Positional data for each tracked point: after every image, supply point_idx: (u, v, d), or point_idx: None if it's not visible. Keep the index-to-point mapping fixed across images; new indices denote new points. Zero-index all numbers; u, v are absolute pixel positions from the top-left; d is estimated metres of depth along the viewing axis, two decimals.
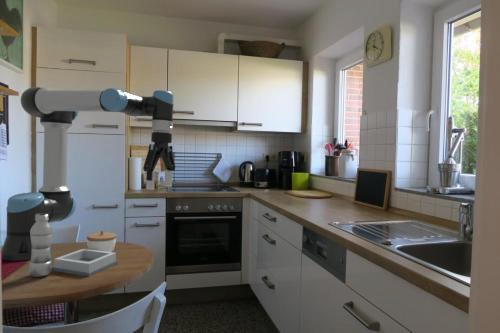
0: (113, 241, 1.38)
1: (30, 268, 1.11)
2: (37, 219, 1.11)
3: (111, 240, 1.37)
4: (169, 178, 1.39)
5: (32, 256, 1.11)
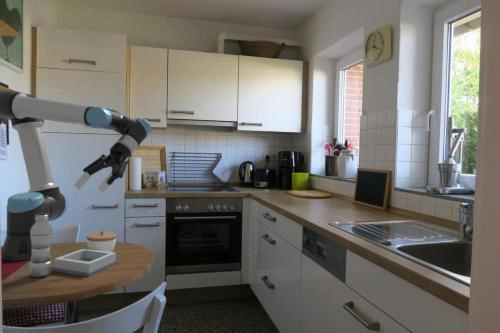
0: (113, 241, 1.38)
1: (30, 268, 1.11)
2: (37, 219, 1.11)
3: (111, 240, 1.37)
4: (84, 181, 1.32)
5: (32, 256, 1.11)
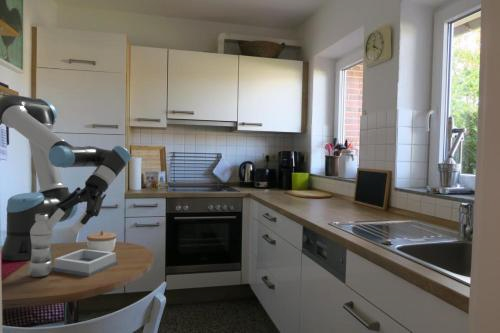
0: (113, 241, 1.38)
1: (30, 268, 1.11)
2: (37, 219, 1.11)
3: (111, 240, 1.37)
4: (57, 218, 1.23)
5: (32, 256, 1.11)
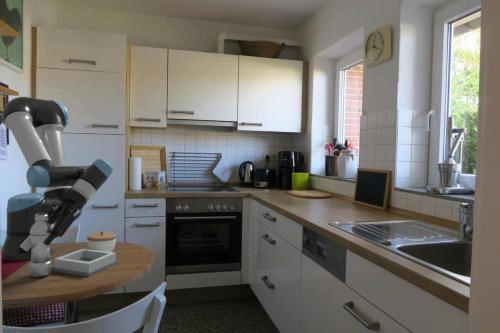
0: (113, 241, 1.38)
1: (30, 268, 1.11)
2: (37, 219, 1.11)
3: (111, 240, 1.37)
4: None
5: (32, 256, 1.11)
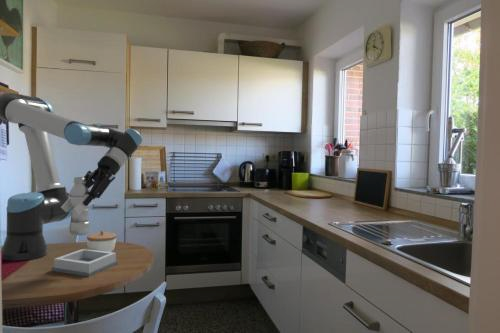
0: (113, 241, 1.38)
1: (71, 227, 1.19)
2: (76, 181, 1.19)
3: (111, 240, 1.37)
4: None
5: (72, 216, 1.19)
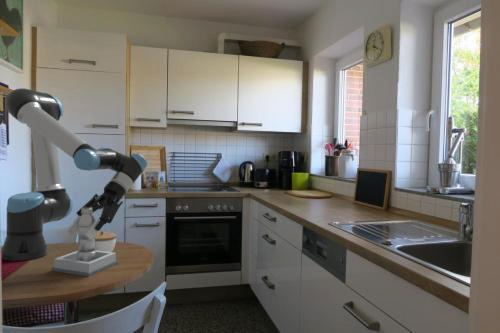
0: (113, 241, 1.38)
1: (78, 257, 1.21)
2: (83, 212, 1.21)
3: (111, 240, 1.37)
4: None
5: (79, 246, 1.22)
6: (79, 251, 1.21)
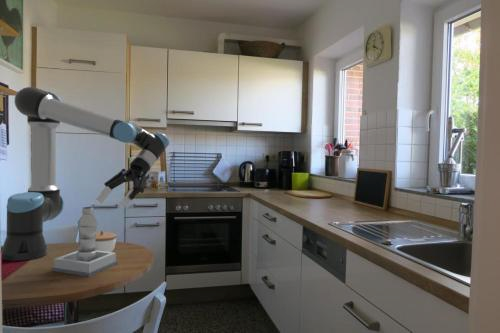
0: (113, 241, 1.38)
1: (78, 257, 1.21)
2: (84, 212, 1.22)
3: (111, 240, 1.37)
4: (106, 195, 1.37)
5: (80, 246, 1.22)
6: (79, 251, 1.22)
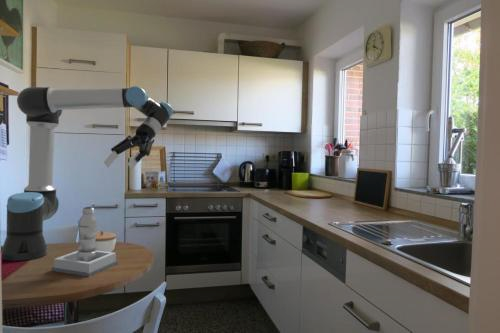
0: (113, 241, 1.38)
1: (78, 257, 1.21)
2: (85, 212, 1.22)
3: (111, 240, 1.37)
4: (113, 159, 1.42)
5: (80, 246, 1.22)
6: (79, 251, 1.22)
